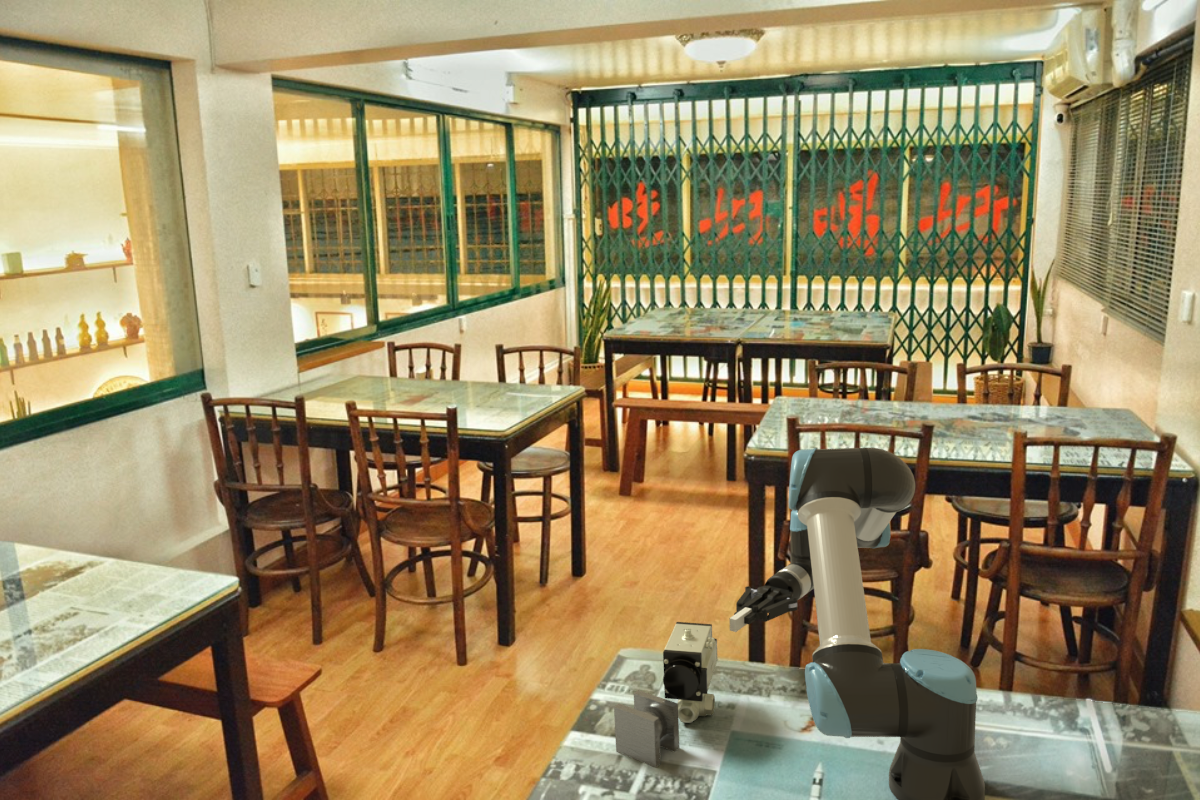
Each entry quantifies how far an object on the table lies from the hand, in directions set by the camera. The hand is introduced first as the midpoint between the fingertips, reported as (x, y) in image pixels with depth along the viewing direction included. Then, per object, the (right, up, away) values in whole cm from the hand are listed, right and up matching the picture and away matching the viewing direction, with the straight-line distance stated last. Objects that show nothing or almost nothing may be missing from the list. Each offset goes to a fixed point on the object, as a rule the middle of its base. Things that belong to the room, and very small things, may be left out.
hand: (732, 625), depth 191 cm
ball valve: (-9, -16, -8) cm, 20 cm away
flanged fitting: (-19, -18, -20) cm, 33 cm away
